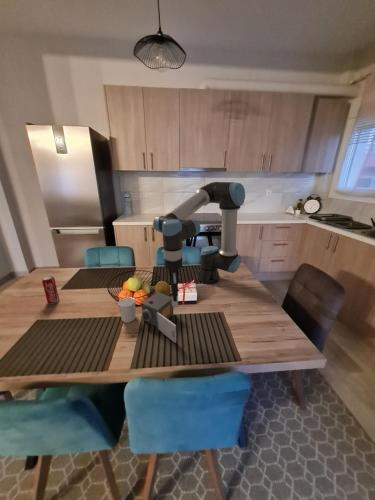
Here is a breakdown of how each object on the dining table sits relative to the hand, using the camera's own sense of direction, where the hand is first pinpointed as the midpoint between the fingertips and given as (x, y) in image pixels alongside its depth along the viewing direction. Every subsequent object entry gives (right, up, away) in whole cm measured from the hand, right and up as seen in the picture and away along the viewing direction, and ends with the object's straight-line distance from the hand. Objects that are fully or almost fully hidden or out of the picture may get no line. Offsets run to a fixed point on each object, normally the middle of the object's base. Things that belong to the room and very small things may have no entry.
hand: (175, 305), depth 94 cm
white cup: (-24, -10, +11) cm, 28 cm away
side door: (-4, -13, 0) cm, 14 cm away
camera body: (-10, -9, +11) cm, 18 cm away
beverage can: (-71, -4, +24) cm, 75 cm away
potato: (-9, -3, +30) cm, 31 cm away
